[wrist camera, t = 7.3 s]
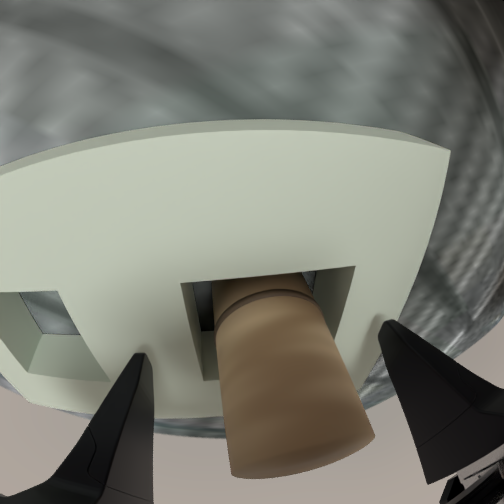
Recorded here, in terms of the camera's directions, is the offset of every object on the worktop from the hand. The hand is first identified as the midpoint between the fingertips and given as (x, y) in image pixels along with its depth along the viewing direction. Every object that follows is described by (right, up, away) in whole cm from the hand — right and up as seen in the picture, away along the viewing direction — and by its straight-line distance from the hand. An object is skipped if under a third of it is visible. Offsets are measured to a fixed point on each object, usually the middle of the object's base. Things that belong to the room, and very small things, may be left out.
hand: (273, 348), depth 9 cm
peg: (0, +2, +3) cm, 4 cm away
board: (-5, +2, +2) cm, 6 cm away
